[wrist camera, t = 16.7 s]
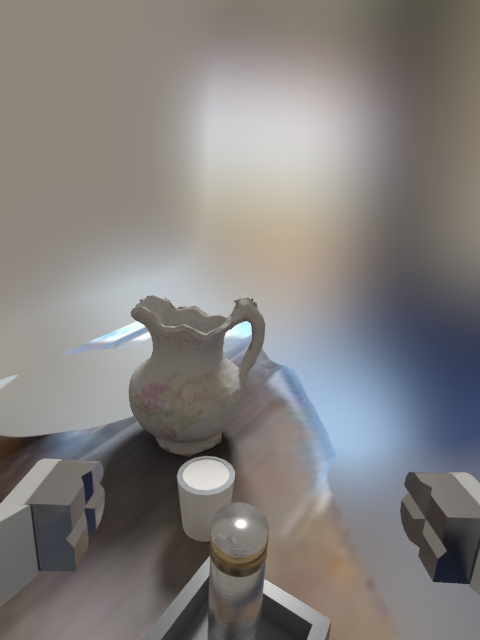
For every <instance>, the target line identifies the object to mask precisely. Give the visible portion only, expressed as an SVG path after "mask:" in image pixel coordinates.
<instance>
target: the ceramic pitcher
mask: <svg viewBox="0 0 480 640" xmlns="http://www.w3.org/2000/svg"><path fill="white" fill-rule="evenodd" d="M248 299H249V298H247V299H246V298H243V299H242V300H241V299H238V300H235V301H234V302H236V306H235V308H234V310H233V311H232V313H231V314H230V315H229V316H228V317H226V316H223V315H215V316H209V315H208V314H206V313H205V312H203V311H202V310H201V309H199V308H198V307H196V306H192V307H187V306H184V307H179V308H175V307H174V306H173V305H172V303H171V302H170V300H168V299H166V298H165V299H162V298H158V297H156V296H147V297H146V298H145V299H142V300H140V303H138V304H137V305H136V307H135V308H133V310H132V311H131V316H132V317H133V318H134V319H135V320H136V321H138V322H140V323H142V324H144V325H145V327H146V328H147V329H148V331H149V332H150V335H151V337H152V341H153V352H152V355H151V357H150V358H149V359H148V360H146V361H145V362H144V363H142V364H141V365H140V366H139V367H138V368H137V369H136V370H135V371H134V373H133V375H132V377H131V380H130V385H129V401H130V406H131V409H132V412H133V415H134V416H135V418H136V419H137V421H138V422H139V423H140V425H141V426H142V427H143V428H144V429H145V430H146V431H148V432H149V433H151V434H152V435H153V436H155V438H156V441H157V443H158V445H159V446H160V447H161V448H162V449H163V450H165V451H167V452H169V453H173V454H178V455H183V456H187V457H190V456H192V455H195V454H197V453H200V452H203V451H205V450H208V449H210V448H213V447H214V446H216V445H217V444H219V443H220V442H221V440H222V432H223V431H224V430H225V429H226V428H227V427H228V426H229V425H230V424H231V423H232V422H233V421H234V420H235V419H236V417H237V415H238V414H239V412H240V410H241V407H242V404H243V398H244V394H245V392H246V391H247V389H248V372H249V371H250V369H251V368H252V366H253V365H254V364H255V362H256V360H257V357H258V355H259V353H260V351H261V348H262V346H263V341H264V334H265V322H264V319H263V316H262V315H261V313H260V312H259V310H258V307H257V304H256V303H255V302H252V301H253V299H251V300H250V299H249V300H248ZM245 321H248V322H250V323H251V326H252V341H251V343H250V346H249V348H248V350H247V352H246V353H245V356H244V359H243V362H242V364H241V366H240V368H238V367H237V366H236V365H234V364H233V363H232V362H231V361H230V360H228V359H227V358H226V357H225V356H224V353H223V344H224V336H225V333H226V332H227V331H228V330H230V329H232V328H233V327H234V326H235V325H237V324H239V323H241V322H245Z"/></svg>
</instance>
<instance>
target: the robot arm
mask: <svg viewBox="0 0 480 640" xmlns="http://www.w3.org/2000/svg"><path fill="white" fill-rule="evenodd" d="M103 476H104V474H103V464H102V463H101V462H100V461H82V460H64V459H63V460H61V459H42V460H40V461H38V462H37V464H36V465H35V466H34V467H33V468H32V469H31V470H30V471H29V472H28V474H27V475H26V476H25V477H24V478H23V479H22V480H21V481H20V482H19V484H18V485H17V486H16V487H15V488H14V489H13V490H12V491H11V493H10V494H9V495H8V496H7V497H6V498H5V499H4V500H3V501H2V503H1V504H0V607H1V606H2V605H3V604H5V603H6V602H7V601H8V600H9V599H10V598H11V597H13V596H14V595H15V594H16V593H17V592H18V591H19V590H21V589H22V588H23V587H24V586H25V585H26V584H27V583H29V582H30V581H31V580H32V579H33V578H34V577H35V576H36V575H38V574H39V571H77V569H78V567H79V565H80V563H81V560H82V558H83V556H84V554H85V552H86V550H87V548H88V546H89V542H88V536H89V535H90V534H92V533H93V532H94V531H96V530H97V528H98V525H99V523H100V521H101V518H102V514H103V510H104V504H105V490H104V489H103V487H102V486H101V485H100V484H99V483H100V481H101V479H102V477H103ZM405 487H406V489H407V490H408V492H409V493H408V494H407V495H406V496H405V497H404V498H403V499H402V502H401V509H400V512H401V520H402V524H403V527H404V530H405V532H406V534H407V536H408V538H409V540H410V541H412V542H413V543H414V544H416V545H417V546H418V547H419V548H420V550H419V558H420V560H421V561H422V563H423V565H424V567H425V569H426V570H427V572H428V574H429V576H430V577H431V579H432V581H433V582H442V583H458V584H470V587H471V588H472V589H473V590H475V591H476V592H477V593H478V594H479V595H480V484H479V482H478V481H477V480H476V479H475V478H474V477H473V476H472V475H470V474H468V473H421V472H409V473H408V475H407V476H406V480H405Z"/></svg>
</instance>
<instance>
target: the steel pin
mask: <svg viewBox="0 0 480 640" xmlns="http://www.w3.org/2000/svg"><path fill="white" fill-rule="evenodd" d="M267 547H268V522H267V519H266V517H265V515H264V514H263V513H262V512H261V511H260V510H259V509H258V508H256V507H254V506H252V505H250V504H246V503H230V504H227V505H225V506H223V507H221V508H220V509H218V510H217V511H216V513H215V514H214V516H213V518H212V521H211V529H210V574H209V604H208V634H207V640H259V636H260V624H261V612H262V599H263V587H264V575H265V563H266V557H267Z"/></svg>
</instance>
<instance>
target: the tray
mask: <svg viewBox="0 0 480 640" xmlns="http://www.w3.org/2000/svg"><path fill="white" fill-rule="evenodd" d="M209 574H210V556H209V557H208V558H207V560H206V561H205V562H204V563H203V565H202V566H201V567H200V568H199V570H198V571H197V572H196V573H195V575H194V576H193V577H192V578H191V580H190V581H189V582H188V583H187V585H186V586H185V587H184V588H183V590H182V591H181V592H180V593H179V595H178V596H177V597H176V598H175V599H174V601H173V602H172V603H171V604H170V606H169V607H168V608H167V609H166V611H165V612H164V613H163V614H162V616H161V617H160V618H159V619H158V621H157V622H156V623H155V624H154V626H153V627H152V628H151V629H150V631H149V632H148V633H147V634H146V636H145V637H144V638H143V639H142V640H207V634H208V604H209ZM330 627H331V620H330V619H329V618H327V617H325V616H324V615H322V614H321V613H319V612H317V611H316V610H314V609H312V608H311V607H309V606H307V605H306V604H304V603H303V602H301V601H299V600H298V599H296V598H294V597H293V596H291V595H290V594H288V593H286V592H285V591H283V590H281V589H280V588H278V587H276V586H275V585H273V584H272V583H270V582H268V581H267V580H265V579H264V587H263V599H262V612H261V624H260V636H259V640H329V634H330Z"/></svg>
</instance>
